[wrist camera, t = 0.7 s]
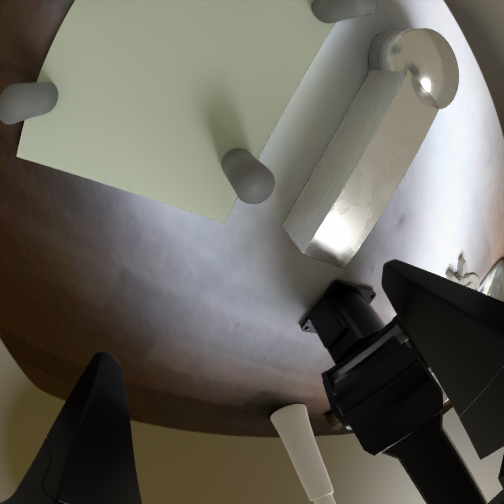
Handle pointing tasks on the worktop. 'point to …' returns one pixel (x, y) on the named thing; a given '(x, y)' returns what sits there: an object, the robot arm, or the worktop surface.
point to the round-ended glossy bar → (374, 143)
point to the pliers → (463, 275)
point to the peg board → (172, 94)
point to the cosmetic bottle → (304, 452)
